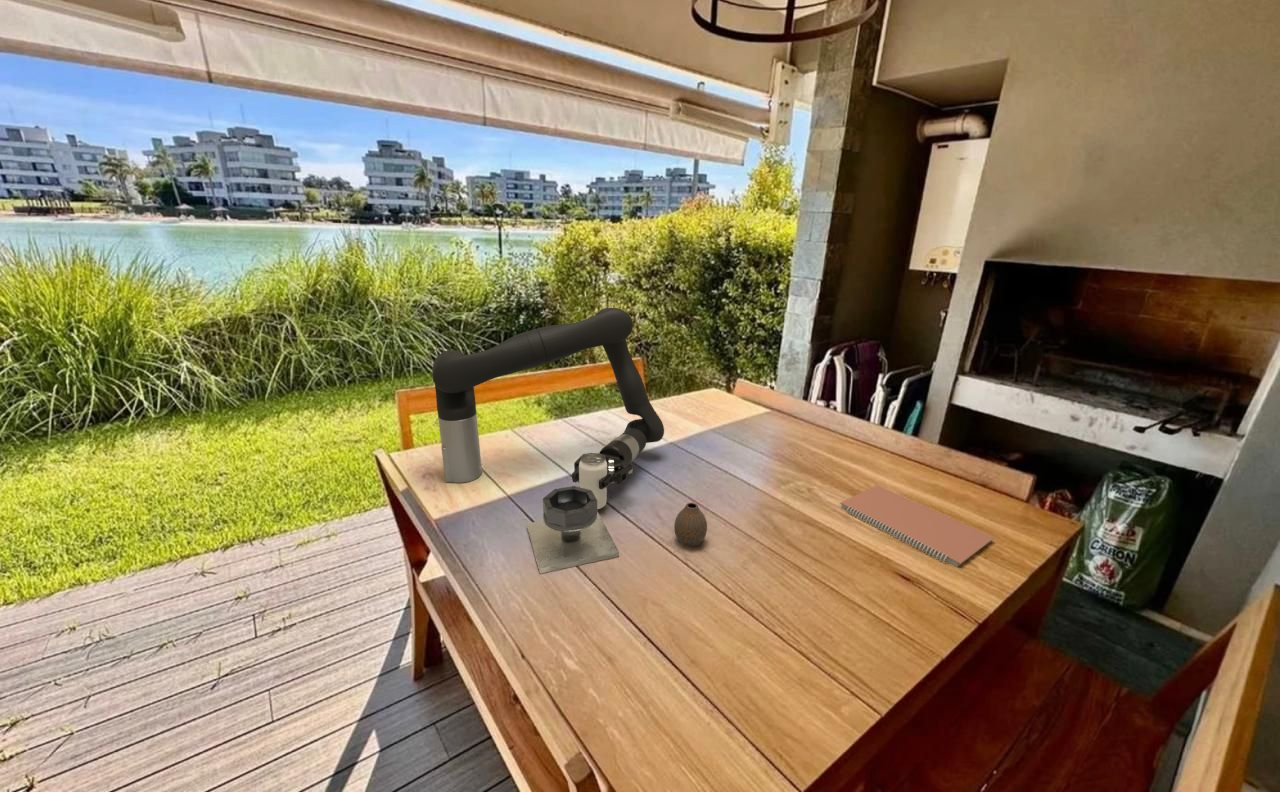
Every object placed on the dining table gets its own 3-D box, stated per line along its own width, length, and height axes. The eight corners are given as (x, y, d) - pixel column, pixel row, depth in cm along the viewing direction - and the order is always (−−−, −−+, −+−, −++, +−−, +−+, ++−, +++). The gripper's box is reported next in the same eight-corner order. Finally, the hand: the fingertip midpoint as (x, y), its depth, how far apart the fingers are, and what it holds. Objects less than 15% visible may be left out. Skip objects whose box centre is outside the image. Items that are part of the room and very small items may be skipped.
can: (603, 512, 114) (603, 466, 110) (575, 509, 115) (575, 463, 111) (609, 497, 120) (609, 453, 116) (583, 494, 121) (582, 450, 117)
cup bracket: (540, 573, 96) (537, 528, 92) (527, 528, 110) (524, 487, 106) (618, 556, 101) (619, 512, 98) (597, 515, 115) (596, 475, 112)
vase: (708, 535, 109) (711, 500, 106) (702, 554, 102) (704, 517, 100) (678, 528, 111) (680, 494, 108) (669, 546, 105) (671, 510, 102)
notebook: (836, 510, 120) (837, 503, 120) (875, 490, 129) (877, 484, 129) (956, 572, 99) (958, 564, 99) (992, 544, 108) (994, 536, 108)
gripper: (595, 434, 129) (559, 460, 114) (645, 445, 123) (615, 474, 109) (595, 460, 131) (560, 489, 117) (644, 472, 126) (614, 504, 111)
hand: (587, 482), depth 113 cm, fingers closed on can, 6 cm apart
